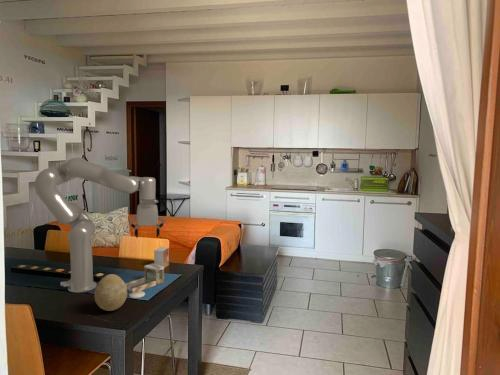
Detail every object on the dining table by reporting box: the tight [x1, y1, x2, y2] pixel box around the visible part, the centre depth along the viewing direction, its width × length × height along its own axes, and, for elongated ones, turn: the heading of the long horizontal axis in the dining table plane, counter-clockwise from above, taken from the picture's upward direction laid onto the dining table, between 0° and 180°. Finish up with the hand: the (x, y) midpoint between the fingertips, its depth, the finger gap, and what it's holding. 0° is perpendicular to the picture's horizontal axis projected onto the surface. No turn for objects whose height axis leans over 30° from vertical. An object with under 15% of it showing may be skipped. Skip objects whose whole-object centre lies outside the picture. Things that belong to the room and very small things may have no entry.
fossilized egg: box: [93, 273, 128, 312], centre depth 150 cm, size 13×13×15 cm
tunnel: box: [125, 262, 165, 292], centre depth 177 cm, size 18×9×8 cm, turn 144°
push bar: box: [126, 279, 152, 292], centre depth 176 cm, size 12×4×2 cm, turn 141°
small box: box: [153, 246, 170, 269], centre depth 206 cm, size 8×6×10 cm
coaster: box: [128, 290, 146, 299], centre depth 166 cm, size 7×7×1 cm
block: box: [147, 270, 161, 282], centre depth 183 cm, size 5×5×5 cm
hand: (147, 236), depth 177 cm, fingers open, 9 cm apart
